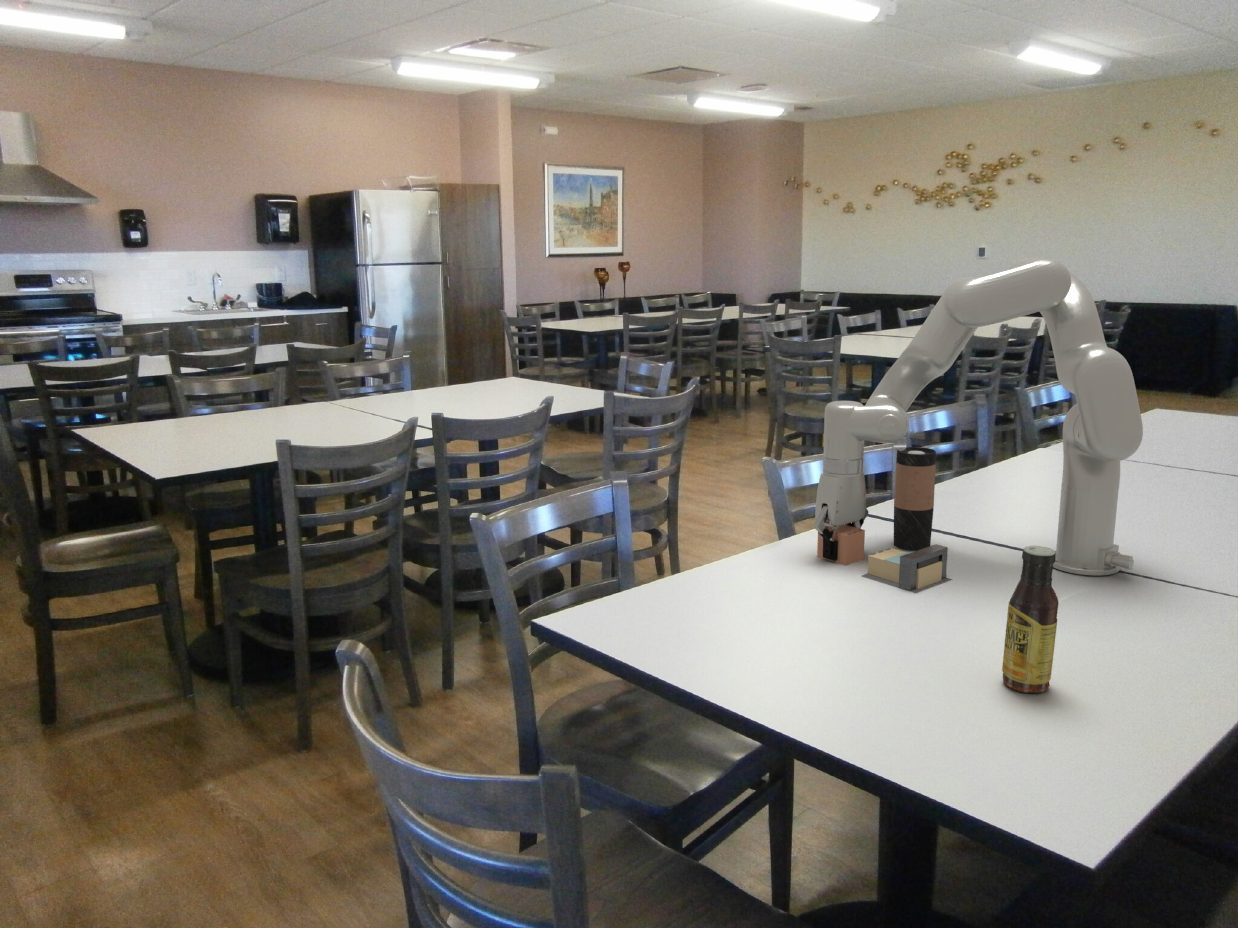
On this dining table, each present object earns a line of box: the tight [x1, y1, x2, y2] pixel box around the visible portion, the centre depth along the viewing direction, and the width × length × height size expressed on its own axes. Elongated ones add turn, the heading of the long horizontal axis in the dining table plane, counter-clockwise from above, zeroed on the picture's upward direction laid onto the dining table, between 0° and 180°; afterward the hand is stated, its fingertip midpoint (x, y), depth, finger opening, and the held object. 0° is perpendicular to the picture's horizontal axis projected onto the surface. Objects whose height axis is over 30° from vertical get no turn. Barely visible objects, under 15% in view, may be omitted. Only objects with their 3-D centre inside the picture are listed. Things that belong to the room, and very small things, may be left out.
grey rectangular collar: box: [898, 544, 949, 592], centre depth 170 cm, size 2×11×6 cm, turn 128°
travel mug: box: [893, 446, 937, 552], centre depth 189 cm, size 8×8×20 cm
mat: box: [861, 572, 953, 594], centre depth 173 cm, size 12×11×1 cm
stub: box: [816, 525, 866, 566], centre depth 184 cm, size 7×6×6 cm
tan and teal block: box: [867, 547, 942, 589], centre depth 173 cm, size 11×7×4 cm, turn 37°
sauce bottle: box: [1001, 545, 1059, 694], centre depth 128 cm, size 6×6×20 cm
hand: (840, 554), depth 185 cm, fingers closed on stub, 5 cm apart
